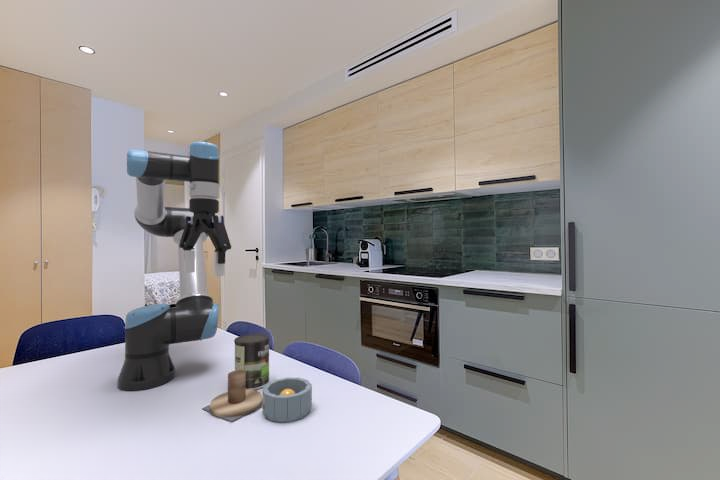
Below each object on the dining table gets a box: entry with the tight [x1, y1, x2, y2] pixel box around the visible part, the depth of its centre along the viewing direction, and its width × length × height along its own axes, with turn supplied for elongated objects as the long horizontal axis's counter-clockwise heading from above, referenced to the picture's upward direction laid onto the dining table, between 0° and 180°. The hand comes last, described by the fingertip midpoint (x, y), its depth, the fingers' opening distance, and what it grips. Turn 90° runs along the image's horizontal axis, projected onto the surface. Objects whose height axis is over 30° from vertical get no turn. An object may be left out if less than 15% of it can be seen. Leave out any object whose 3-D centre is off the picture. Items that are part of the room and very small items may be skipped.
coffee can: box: [234, 333, 270, 391], centre depth 102 cm, size 10×10×14 cm
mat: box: [202, 397, 263, 423], centre depth 88 cm, size 12×12×1 cm
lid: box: [209, 370, 263, 418], centre depth 88 cm, size 13×13×8 cm
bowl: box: [262, 376, 313, 424], centre depth 85 cm, size 12×12×6 cm
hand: (203, 274), depth 93 cm, fingers open, 13 cm apart
